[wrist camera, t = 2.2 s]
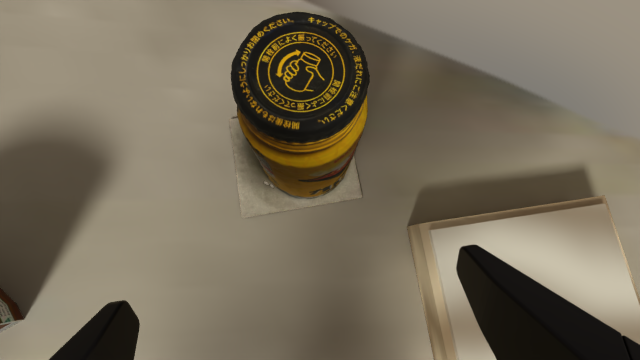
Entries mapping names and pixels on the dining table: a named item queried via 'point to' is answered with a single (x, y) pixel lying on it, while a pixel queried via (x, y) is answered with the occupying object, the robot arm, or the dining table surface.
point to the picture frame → (525, 268)
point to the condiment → (297, 114)
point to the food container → (8, 312)
